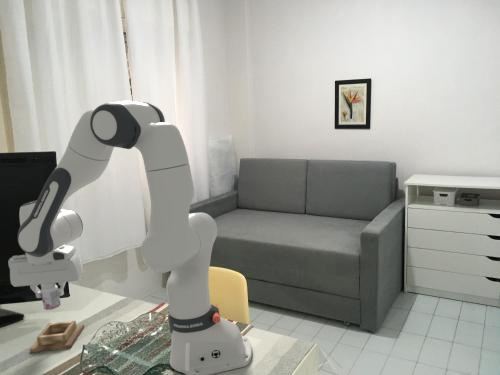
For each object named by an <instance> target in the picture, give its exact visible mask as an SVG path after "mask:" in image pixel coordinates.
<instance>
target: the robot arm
mask: <svg viewBox="0 0 500 375" xmlns="http://www.w3.org/2000/svg"><path fill="white" fill-rule="evenodd" d="M115 148H121V149H126V150H131V149H132V148H136V149H137V150H138V151H139V152H140V155H141V157H142V159H143V160H142V161H143V165H144V169H145V174H146V176H145V177H146V180H147V186H148V191H149V198H150V214H149V215H150V216H149V224H148V229H147V232H146V235H145V237H144V239H143V240H142V244H141V245H140V246H141V248H140V255H141V258H142V261H143V263H144V264H145V265H146V267H147V268H148V269H149V270H151V271H152V272H154V273H157V274H164V273H168V272H170V274H169V276H168V278H167V281H166V287H165V288H166V297H167V303H168V304H167V305H168V310H169V311H168V313H167V322H168V323H167V324H168V328H169V333H170V335H171V344H170V345H171V346H170V347H171V349H170V356H169V365H170V367H171V368H172V369H174V370H175V371H178V372H179V373H181V374H182V373H183V374H184V375H214V374H215V375H216V374H218V373H223V372H226V371H231V370H232V371H233V370H236V369H239V368H244V367H247V366H248V365H249V363H250V362H251V360H252V356H253V350H252V344H251V342H250V340H249V339H248V338H247V337H246V336H245V335H242V333H241V331H240V328H239V327H238V325H237V324H236V323H234V322H233V321H230V320H228V319H226V318H223V317H222V316H221V314H220V308H218V306H219V305H218V304H217V303H216V304H215V305H213V303H211V298H210V297H211V295H210V285H209V276H210V265H211V257H212V253H213V252H212V251H213V248H214V243H215V241H216V239H217V237H218V225H217V222H216V221H215V219H214V218H213V217H212V216H211V215H210V214H209V213H206V212H192V213H190V209H191V203H192V201H193V199H194V198H195V197H194V196H195V187H194V182H193V176H192V170H191V166H190V160H189V155H188V153H187V148H186V145H185V143H184V140H183V137H182V134H181V131H180V130H179V129H178V127H177V126H176V125H174V124H173V123H169V122H166V118H165V116H164V114H163V112H162V111H161V109H160V108H159V107H158V106H156V105H155V104H152V103H149V102H147V101H146V102H144V101H143V102H138V101H132V100H123V101H122V100H121V101H109V102H106V103H102V104H100V105H99V106H97V107H96V108H95V109H90V110H87V111H85V112H84V113H83V114H82V115H81V116H80V118H79V120H78V122H77V124H76V125H75V127H74V129H73V131H72V133H71V136H70V139H69V141H68V143H67V146H66V149H65V151H64V153H63V155H62V157H61V159H60V161H59V162H58V164H57V165H56V167H55V168H54V169H53V171H51V173H50V175H49V176H48V178H47V179H46V181H45V183H44V185H43V187H42V189H41V191H40V194H39V196H38V198H37V200H33V201H29V202H27V203H23V204H22V205H21V206H20V208H19V216H18V217H19V225H20V226H19V228H18V232H17V243H18V247H20V250H22V251H23V252H24V253H25V254H21V255H12V257H10V258H9V259H8V262H7V263H8V264H7V265H8V268H9V278H10V279H9V280H10V284H11V285H12V286H13V287H14V288H15V287H17V288H18V287H25V286H27V287H28V286H29V287H30V288H29V289H30V290H32V292H34V293H35V298H37V299H40V298H41V299H42V296H41V289H40V288H39V287H38V286H39V285H41V284H47V283H56V284H57V283H58V286H60V287H59V288H58V290H57V291H56V293H57V296H59V297H62V296H63V295H65V292H64V289H65V285H66V283H70V282H77V281H79V280H80V279H81V278H82V276H83V269H82V264H81V261H80V259H79V257H78V255H76V247H75V246H74V245H69V243H71V242H73V241H75V240H77V239H78V238H80V237H81V236H82V233H83V229H84V224H83V223H84V222H83V220H82V217H81V216H80V215H79V214H78V213H77V212H76V211H74V210H71V209H65V208H63V207H64V204H65V203H66V201H67V200H68V199H69V198H70V197H71V196H72V195H73V194H75V193H77V191H79V190H81V189H82V188H84V187H86V186H87V185H90V184H91V183H94V182H95V181H96V180H98V179H99V178H100V177H101V175H103V173H104V172H105V170H106V168H107V167H108V165H109V161H110V160H111V157H112V154H113V150H114V149H115ZM67 244H68V245H67Z"/></svg>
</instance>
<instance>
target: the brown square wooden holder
mask: <svg viewBox="0 0 500 375" xmlns="http://www.w3.org/2000/svg"><path fill="white" fill-rule="evenodd" d="M84 329H85V324H77V322H76V320H69V321H62V322H61V321H60V322H49V323H47V324H46V326H45V327H44V329H42V330H41V332H40V333H39V334H38V335H37V337H36V339H37V340H36V341H35V342H34V343H33V344H32V346H31V347H30V348H29V353H36V352H44V351H45V352H47V351H54V350H63V349H71V348H72V347H73V346H74V344H75V343H76V341H77V340H78V338H79V336H80V335H81V334H82V332H83V330H84Z"/></svg>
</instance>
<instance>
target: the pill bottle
mask: <svg viewBox="0 0 500 375" xmlns="http://www.w3.org/2000/svg"><path fill="white" fill-rule="evenodd" d="M58 286H59V285H57V283H47V284H40V288H41V289H40V290H41V296H42V298H41V300H42V306H43V309H44V310H46V311H52V310H55V309H58V308H60V306H61V305H62V304H61V302H62V301H61V298H60V297H61V296H57V293H56V291H57V290H58V289H59V287H58Z"/></svg>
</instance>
